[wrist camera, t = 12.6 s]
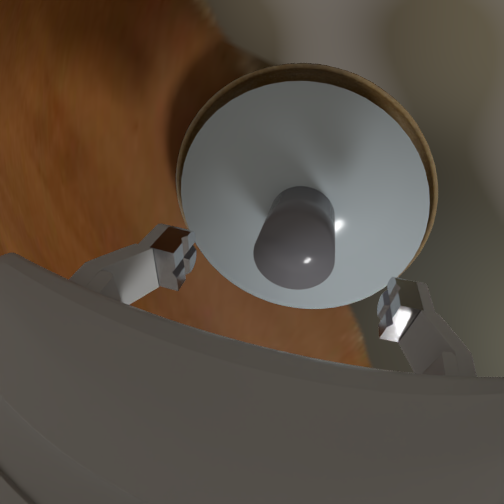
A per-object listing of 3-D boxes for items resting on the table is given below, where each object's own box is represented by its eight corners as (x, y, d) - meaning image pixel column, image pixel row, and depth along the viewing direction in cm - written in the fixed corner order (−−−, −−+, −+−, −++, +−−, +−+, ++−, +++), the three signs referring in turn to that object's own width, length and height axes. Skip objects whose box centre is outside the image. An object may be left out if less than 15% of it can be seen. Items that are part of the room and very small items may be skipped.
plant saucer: (446, 99, 10) (466, 104, 8) (385, 296, 19) (389, 321, 17) (191, 64, 13) (169, 64, 11) (201, 262, 22) (188, 283, 20)
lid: (192, 271, 19) (163, 318, 15) (191, 70, 11) (136, 74, 8) (374, 314, 17) (377, 369, 14) (453, 125, 9) (501, 151, 6)
